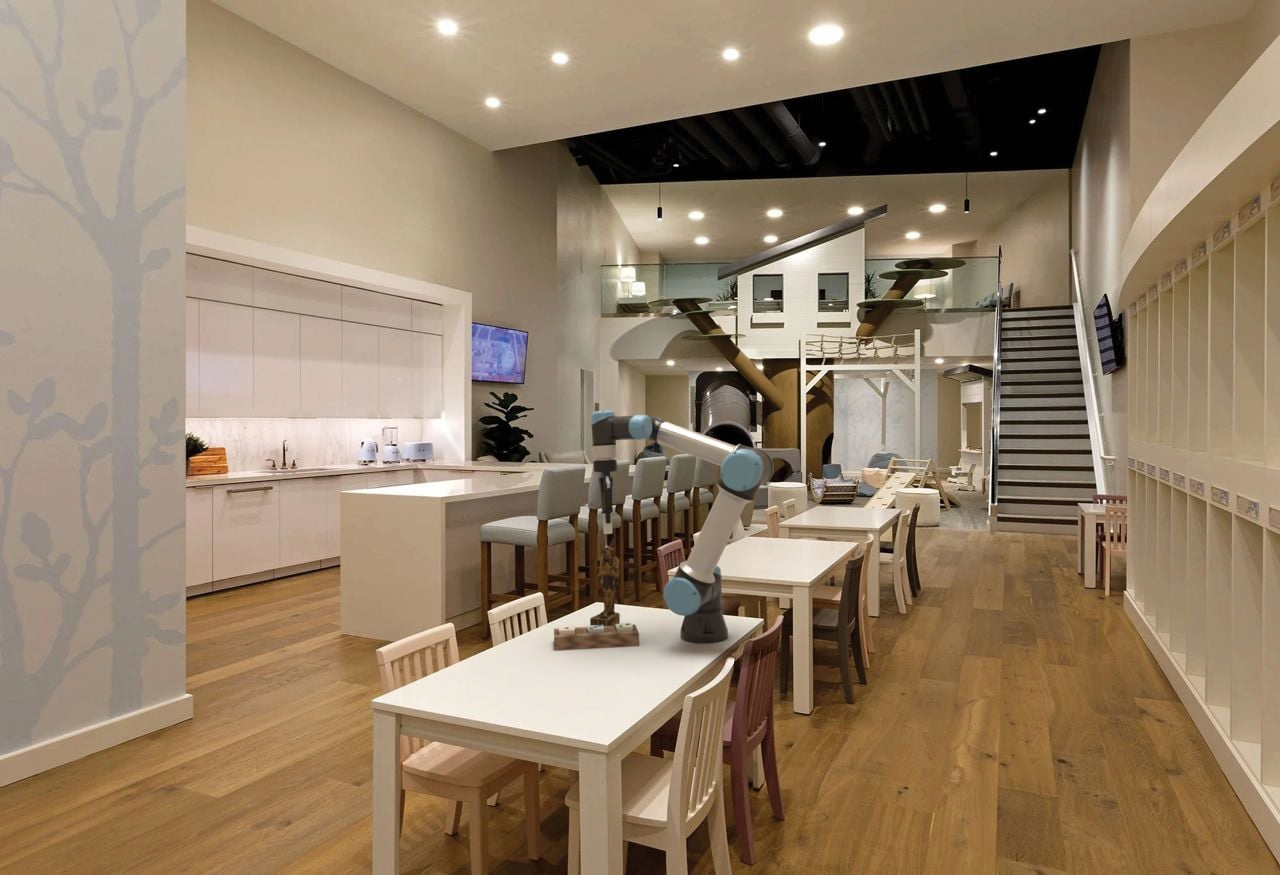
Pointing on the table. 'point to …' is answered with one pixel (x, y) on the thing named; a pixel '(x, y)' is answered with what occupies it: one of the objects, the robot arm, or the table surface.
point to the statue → (608, 586)
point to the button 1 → (567, 630)
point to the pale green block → (624, 627)
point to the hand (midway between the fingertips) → (608, 533)
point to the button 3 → (595, 629)
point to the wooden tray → (596, 638)
